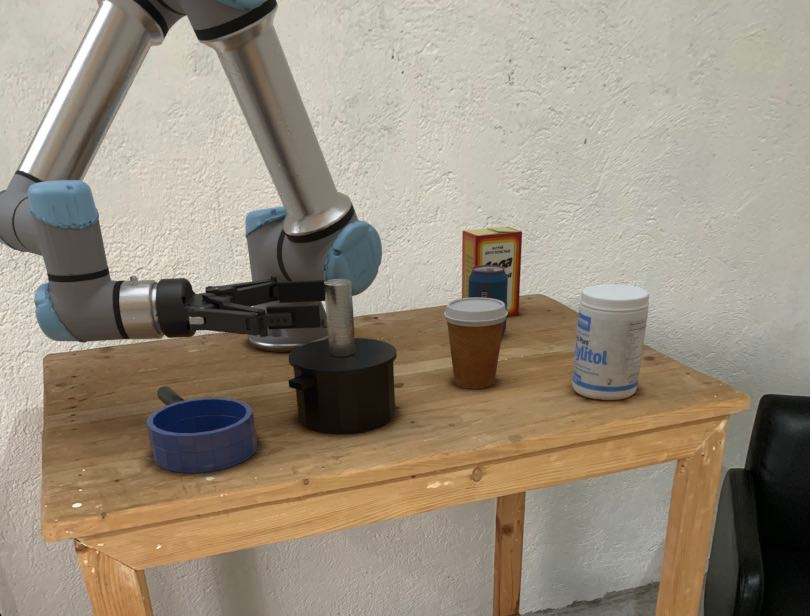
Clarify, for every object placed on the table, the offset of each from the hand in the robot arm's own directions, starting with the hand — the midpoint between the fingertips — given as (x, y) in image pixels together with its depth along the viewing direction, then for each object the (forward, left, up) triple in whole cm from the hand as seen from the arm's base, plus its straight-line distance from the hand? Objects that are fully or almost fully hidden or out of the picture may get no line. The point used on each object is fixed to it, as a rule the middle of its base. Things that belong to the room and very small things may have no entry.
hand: (323, 302), depth 105 cm
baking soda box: (-31, +52, -16) cm, 62 cm away
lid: (+1, +2, -8) cm, 8 cm away
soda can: (-19, +42, -16) cm, 49 cm away
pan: (+1, -19, -16) cm, 25 cm away
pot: (+1, +2, -16) cm, 16 cm away
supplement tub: (+15, +38, -16) cm, 44 cm away
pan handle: (-10, -19, -14) cm, 26 cm away
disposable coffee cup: (0, +25, -16) cm, 30 cm away
